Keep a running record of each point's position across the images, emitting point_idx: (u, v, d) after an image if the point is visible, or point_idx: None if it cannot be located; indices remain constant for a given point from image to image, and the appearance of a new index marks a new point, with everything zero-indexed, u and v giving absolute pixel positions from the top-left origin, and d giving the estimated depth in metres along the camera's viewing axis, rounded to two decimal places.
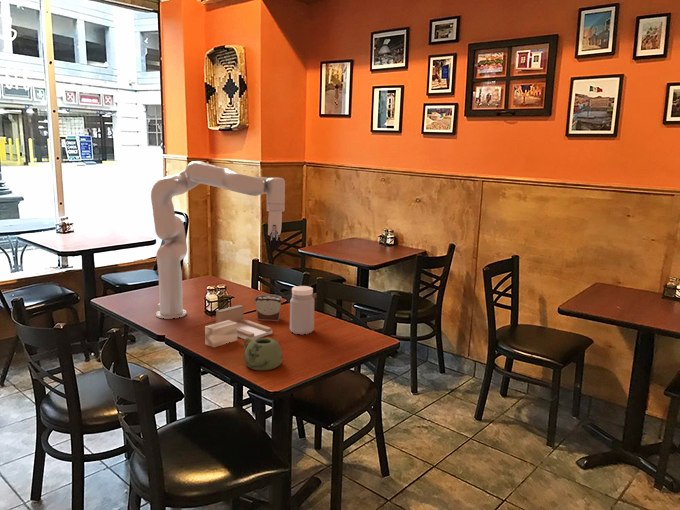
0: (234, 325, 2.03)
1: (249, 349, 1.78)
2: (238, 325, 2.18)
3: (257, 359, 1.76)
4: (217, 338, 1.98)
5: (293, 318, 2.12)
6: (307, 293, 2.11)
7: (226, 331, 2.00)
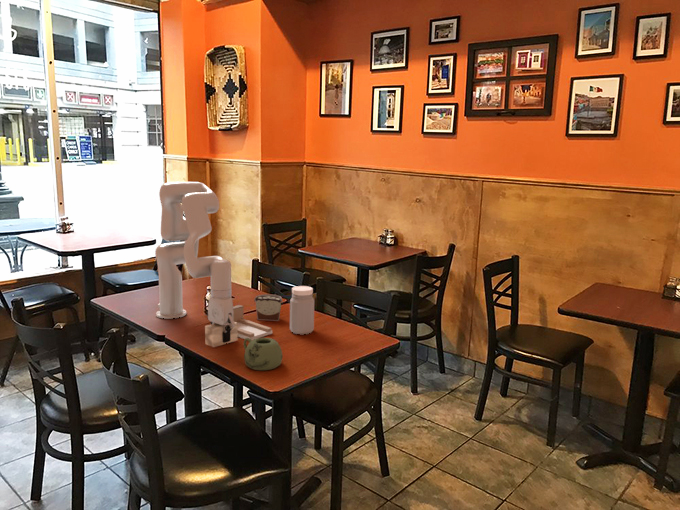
0: None
1: (249, 349, 1.78)
2: (238, 325, 2.18)
3: (257, 359, 1.76)
4: (217, 338, 1.98)
5: (293, 318, 2.12)
6: (307, 293, 2.11)
7: None
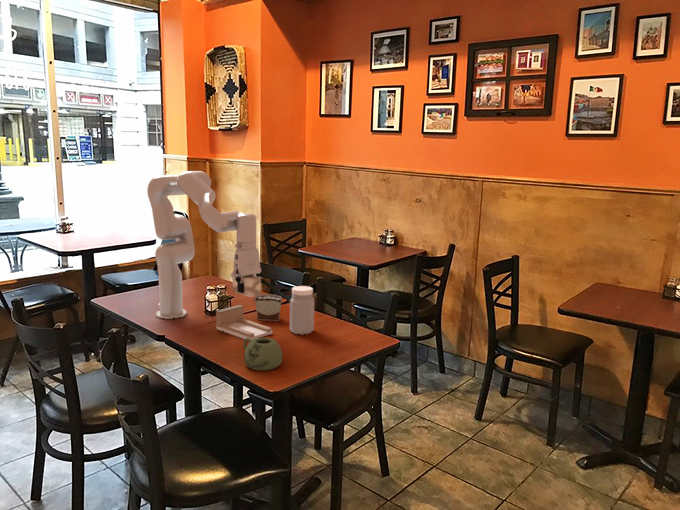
0: None
1: (249, 349, 1.78)
2: (238, 325, 2.18)
3: (257, 359, 1.76)
4: None
5: (293, 318, 2.12)
6: (307, 293, 2.11)
7: None
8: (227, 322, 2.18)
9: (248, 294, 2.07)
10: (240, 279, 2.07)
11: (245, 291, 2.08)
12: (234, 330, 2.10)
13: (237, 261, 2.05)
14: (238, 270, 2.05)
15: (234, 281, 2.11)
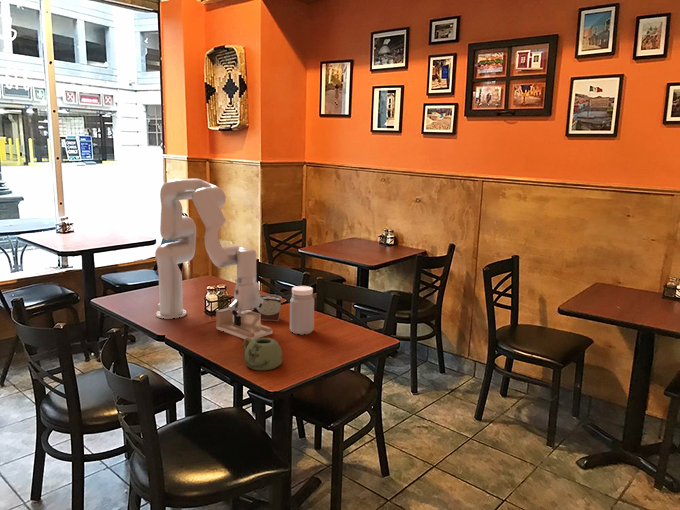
0: None
1: (249, 349, 1.78)
2: None
3: (257, 359, 1.76)
4: None
5: (293, 318, 2.12)
6: (307, 293, 2.11)
7: None
8: (227, 322, 2.18)
9: None
10: (237, 312, 2.08)
11: (245, 327, 2.10)
12: (234, 330, 2.10)
13: (237, 296, 2.07)
14: (238, 305, 2.07)
15: None
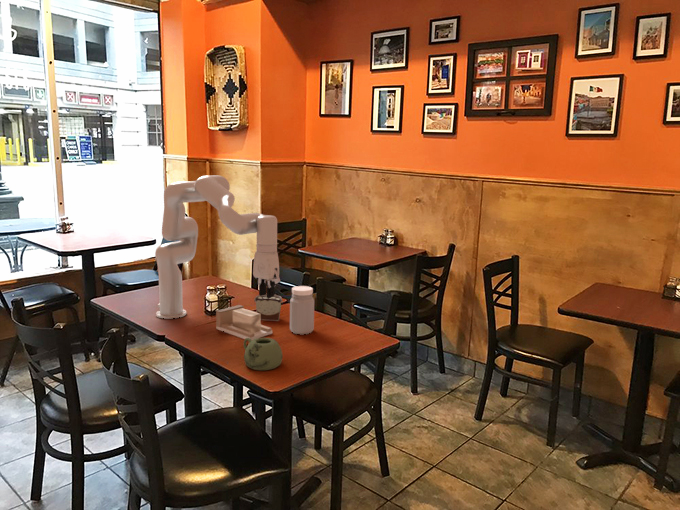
0: None
1: (249, 349, 1.78)
2: None
3: (257, 359, 1.76)
4: None
5: (293, 318, 2.12)
6: (307, 293, 2.11)
7: None
8: (227, 322, 2.18)
9: None
10: None
11: (245, 327, 2.10)
12: (234, 330, 2.10)
13: None
14: None
15: (234, 317, 2.14)
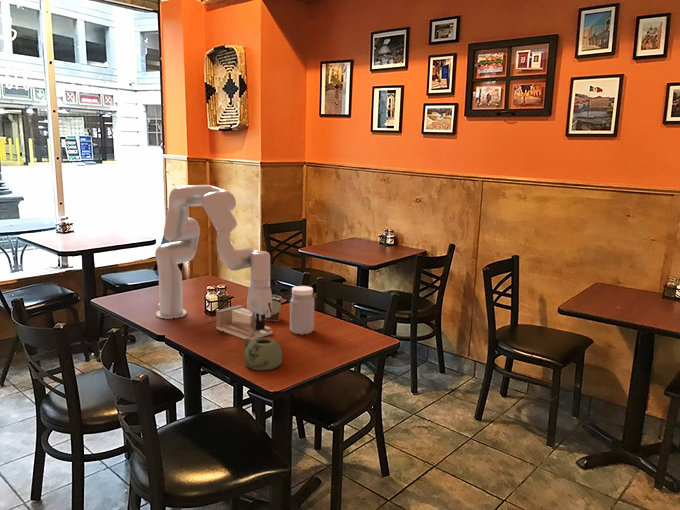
0: None
1: (249, 349, 1.78)
2: None
3: (257, 359, 1.76)
4: None
5: (293, 318, 2.12)
6: (307, 293, 2.11)
7: None
8: (227, 322, 2.18)
9: (248, 330, 2.10)
10: None
11: (244, 327, 2.11)
12: (234, 330, 2.10)
13: None
14: None
15: (233, 317, 2.14)
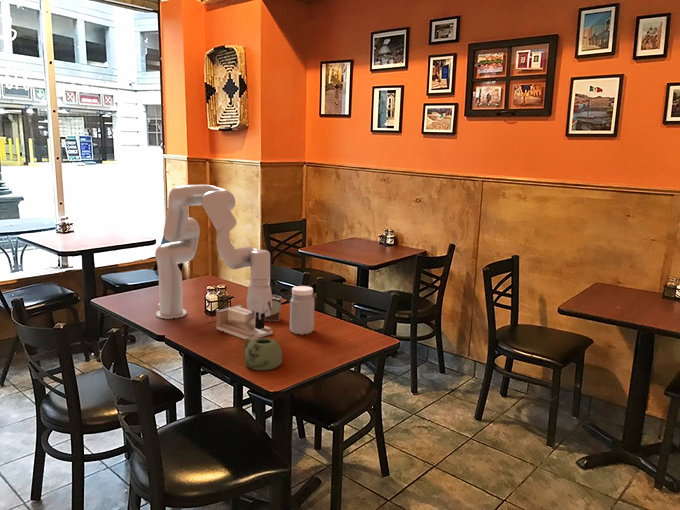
0: None
1: (249, 349, 1.78)
2: None
3: (257, 359, 1.76)
4: None
5: (293, 318, 2.12)
6: (307, 293, 2.11)
7: None
8: (227, 322, 2.18)
9: (243, 329, 2.12)
10: None
11: (240, 325, 2.13)
12: (234, 330, 2.10)
13: None
14: None
15: (229, 315, 2.16)
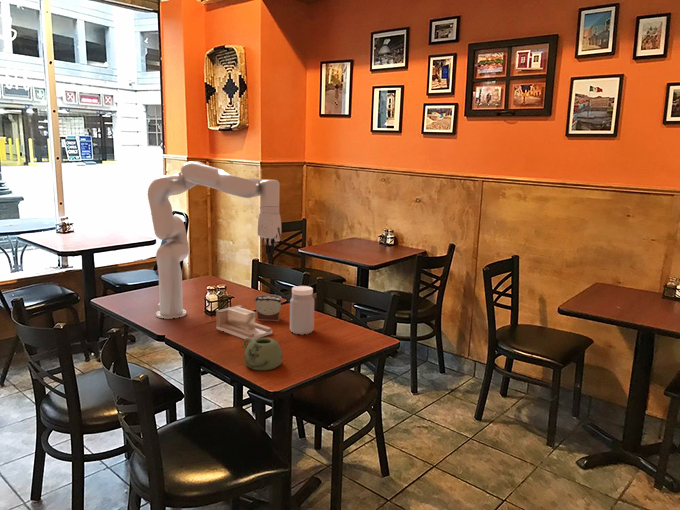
0: None
1: (249, 349, 1.78)
2: None
3: (257, 359, 1.76)
4: None
5: (293, 318, 2.12)
6: (307, 293, 2.11)
7: None
8: (227, 322, 2.18)
9: (243, 329, 2.12)
10: None
11: (240, 325, 2.13)
12: (234, 330, 2.10)
13: None
14: None
15: (229, 315, 2.16)
